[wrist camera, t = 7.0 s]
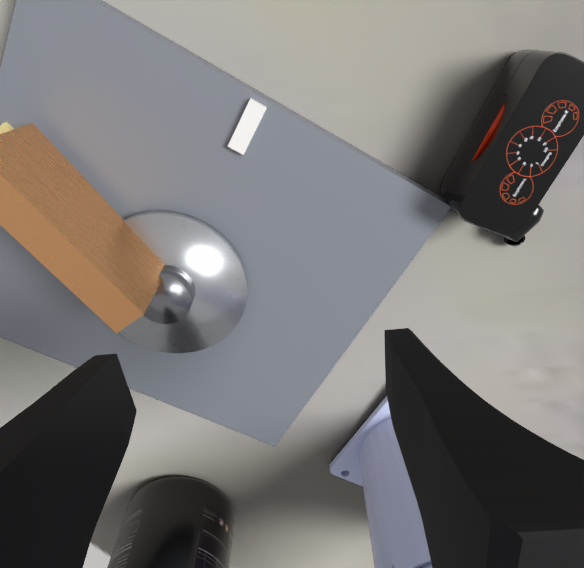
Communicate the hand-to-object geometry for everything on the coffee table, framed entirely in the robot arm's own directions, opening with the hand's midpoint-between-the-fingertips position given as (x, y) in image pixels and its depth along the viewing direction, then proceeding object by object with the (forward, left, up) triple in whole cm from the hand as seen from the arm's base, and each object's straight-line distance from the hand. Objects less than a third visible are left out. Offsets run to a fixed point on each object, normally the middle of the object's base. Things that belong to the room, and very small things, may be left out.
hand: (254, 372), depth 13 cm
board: (+3, +3, -10) cm, 11 cm away
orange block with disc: (+5, +3, -9) cm, 11 cm away
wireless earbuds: (-7, -8, -11) cm, 15 cm away
